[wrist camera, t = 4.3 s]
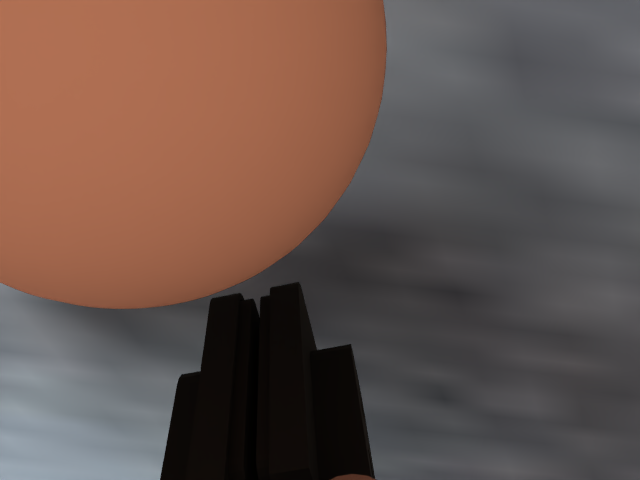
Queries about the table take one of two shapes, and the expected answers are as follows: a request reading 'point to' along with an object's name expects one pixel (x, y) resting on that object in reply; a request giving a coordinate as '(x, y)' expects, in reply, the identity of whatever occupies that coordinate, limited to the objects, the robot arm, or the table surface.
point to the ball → (175, 139)
